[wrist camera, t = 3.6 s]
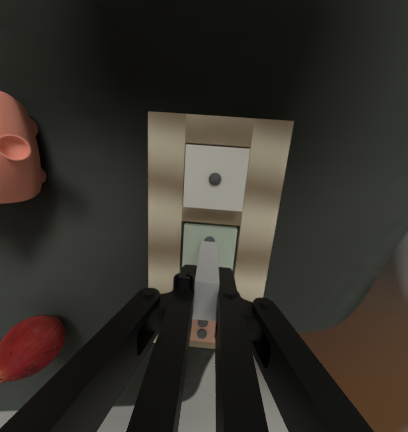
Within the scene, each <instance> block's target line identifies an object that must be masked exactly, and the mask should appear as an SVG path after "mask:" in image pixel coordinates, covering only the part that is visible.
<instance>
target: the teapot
mask: <svg viewBox="0 0 408 432" xmlns="http://www.w3.org/2000/svg"><path fill="white" fill-rule="evenodd" d="M37 133H38V126H37V124H36V122H35V121H34V120H33V119H31V118H30V117H29V114H28V112H27V110H26V108H25V107H24V106H23V105H22V104H21V103H20V102H19V101H17V100H16V99H15V98H13V97H12V96H10V95H9V94H7V93H4V92H1V91H0V204H5V203H15V202H22V201H26V200H29V199H31V198H33V197H35V196H36V195H37V194H39V193H40V191H41V184H42V183H44V182H45V180H46V173H45V171H44V170H43V169H42V168H41V163H40V155H39V149H38V144H37V140H36V137H35V136H36V135H37Z"/></svg>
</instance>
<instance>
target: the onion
mask: <svg viewBox="0 0 408 432" xmlns="http://www.w3.org/2000/svg"><path fill="white" fill-rule="evenodd" d="M64 340H65V329H64V326H63V323H62V322H61V319H60V317H58V316H49V315H36V316H33V317H30V318H28V319H25V320H23V321H21V322H19V323H18V324H16V325H15V326H13V327H12V329H11V330H10V331H9V332H8V333H7V334H6V335H5V336H4V338H3V339H2V340H1V342H0V383H2V382H6V381H16V380H20V379H23V378H26V377H29V376H32V375H34V374H36V373H38V372H39V371H41V370H42V369H43V368H45V367H46V366H47V365H48V364H49V363H50V362H51V361H52V360H53V359H54V358H55V357H56V356H57V355H58V354H59V352H60V351H61V349H62V348H63V344H64Z"/></svg>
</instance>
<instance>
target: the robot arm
mask: <svg viewBox="0 0 408 432" xmlns="http://www.w3.org/2000/svg"><path fill="white" fill-rule="evenodd" d="M192 319H197V320H207V321H216V325H215V334H214V338H215V364H216V366H215V367H216V368H215V370H216V432H269V431H268V427H267V422H266V417H265V412H264V407H263V402H262V397H261V393H260V388H259V383H258V378H257V373H256V369H255V364H254V359H253V355H254V357H255V359H256V361H257V363H258V366H259V367H260V370H261V372H262V374H263V376H264V379H265V381H266V383H267V385H268V387H269V390H270V392H271V394H272V396H273V398H274V400H275V403H276V405H277V407H278V409H279V411H280V414H281V416H282V418H283V420H284V423H285V425H286V427H287V429H288V431H289V432H374V431H373V430H372V429H371V427H370V426H369V425H368V423H367V422H366V421H365V420H364V418H363V417H362V416H361V414H360V413H359V412H358V411H357V409H356V408H355V407H354V405H353V404H352V403H351V401H349V399H348V398H347V396H346V395H345V394H344V393H343V391H342V390H341V389H340V387H339V386H338V385H337V383H336V382H335V381H334V380H333V378H332V377H331V376H330V374H329V373H328V372H327V371H326V369H325V368H324V367H323V366H322V364H321V363H320V362H319V360H318V359H317V358H316V356H315V355H314V354H313V353H312V351H311V350H310V349H309V347H308V346H307V345H306V344H305V342H304V341H303V340H302V338H301V337H300V336H299V334H298V333H297V332H296V331H295V329H294V328H293V327H292V325H291V324H290V323H289V322H288V320H287V319H286V318H285V316H284V315H283V314H282V313H281V311H280V310H279V309H278V307H277V306H276V305H275V304H274V303H273V302H272V301H271V300H269V299H266V298H260V297H259V298H256V299H254V301H253V302H251V301H248V300H245V299H243V298H242V297H241V296H240V294H239V292H238V291H237V288H236V283H235V278H234V273H233V271H232V270H231V268H226V267H219V265H218V246H217V242H209V241H201V246H200V252H199V258H198V265H187V264H185V265H184V266H183V267H182V269H181V272H180V273H178V274H176V275H175V276H174V278H173V291H171V292H168V293H163V294H160V292H159V291H158V290H157V289H155V288H145V289H142V290H141V291H139V292H138V293H137V294H136V295H135V296H134V297H133V298H132V299H131V300H130V301H129V302H128V303H127V304H126V305H125V306H124V307H123V308H122V309H121V310H120V311H119V312H118V313H117V314H116V315H115V316H114V317H113V318H112V319H111V320H110V321H109V322H108V323H107V324H106V325H105V326H104V327H103V328H102V329H101V330H100V331H99V332H98V333H97V334H96V335H95V336H94V337H93V338H92V339H91V340H90V341H89V342H88V343H87V344H85V345H84V346H83V347H82V348H81V349H80V350H79V351H78V352H77V353H76V354H75V355H74V356H73V357H72V358H71V359H70V360H69V361H68V362H67V363H66V364H65V365H64V366H63V367H62V368H61V369H60V370H59V371H58V372H57V373H56V374H55V375H54V376H53V377H52V378H51V379H50V380H49V381H48V382H47V383H46V384H45V385H44V386H43V387H42V388H41V389H40V390H39V391H38V392H37V393H36V394H35V395H34V396H33V397H32V398H31V399H30V400H29V401H28V402H27V403H26V404H25V405H24V406H23V407H22V408H21V409H20V410H19V411H18V412H17V413H16V414H15V415H14V416H13V417H12V418H11V419H9V420H8V422H7V423H5V424H4V425H3V426H2V427H1V428H0V432H97V430H98V428H99V427H100V425H101V424H102V422H103V421H104V419H105V417H106V416H107V414H108V413H109V411H110V409H111V408H112V406H113V405H114V403H115V402H116V400H117V398H118V397H119V395H120V394H121V392H122V391H123V389H124V387H125V386H126V384H127V383H128V381H129V379H130V378H131V376H132V375H133V373H134V372H135V370H136V368H137V367H138V365H139V364H140V362H141V360H142V359H143V357H144V356H145V354H146V353H147V351H148V349H149V348H150V346H151V345H152V343H153V341H154V340H155V338H156V337H157V339H156V343H155V346H154V349H153V352H152V355H151V358H150V361H149V364H148V367H147V370H146V373H145V376H144V379H143V382H142V385H141V388H140V391H139V394H138V397H137V400H136V404H135V407H134V410H133V413H132V416H131V419H130V422H129V425H128V428H127V431H126V432H178V425H179V418H180V410H181V403H182V395H183V388H184V380H185V373H186V365H187V358H188V350H189V343H190V335H191V328H192ZM157 335H158V336H157ZM252 352H253V354H252Z"/></svg>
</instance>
